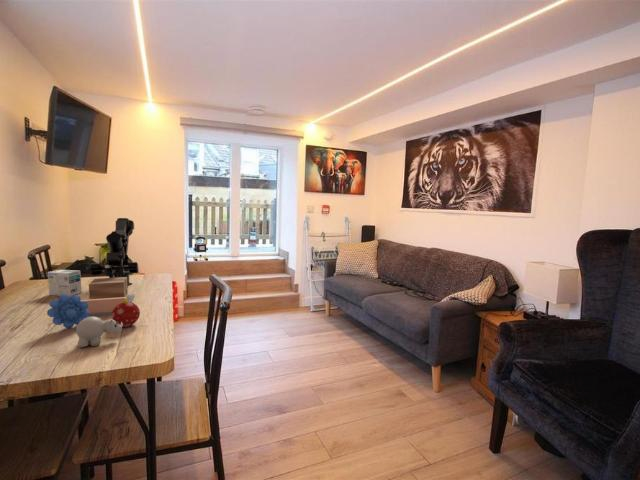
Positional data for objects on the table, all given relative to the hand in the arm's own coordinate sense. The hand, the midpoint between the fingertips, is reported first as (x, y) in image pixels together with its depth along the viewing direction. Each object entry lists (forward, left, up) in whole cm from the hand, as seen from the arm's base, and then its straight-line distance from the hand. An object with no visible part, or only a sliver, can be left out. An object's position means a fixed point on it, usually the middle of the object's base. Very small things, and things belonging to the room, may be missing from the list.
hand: (112, 284), depth 146 cm
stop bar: (+18, +11, -7) cm, 22 cm away
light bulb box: (-3, -26, -7) cm, 27 cm away
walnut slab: (+7, +4, -3) cm, 9 cm away
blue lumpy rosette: (+33, +11, -7) cm, 36 cm away
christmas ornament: (+27, +27, -7) cm, 39 cm away
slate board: (+9, +5, -7) cm, 12 cm away
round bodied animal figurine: (+41, +29, -7) cm, 51 cm away
